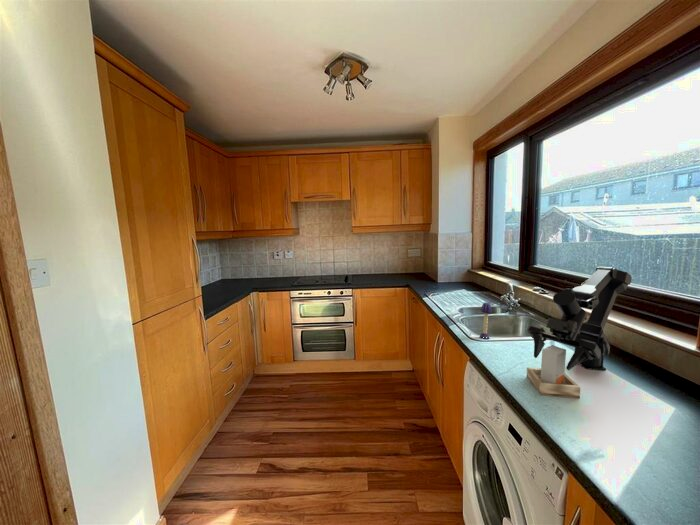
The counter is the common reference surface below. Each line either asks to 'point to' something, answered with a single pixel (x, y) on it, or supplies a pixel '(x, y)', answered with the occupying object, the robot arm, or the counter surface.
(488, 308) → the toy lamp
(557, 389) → the wooden tray
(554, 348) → the skincare box
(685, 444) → the counter surface
